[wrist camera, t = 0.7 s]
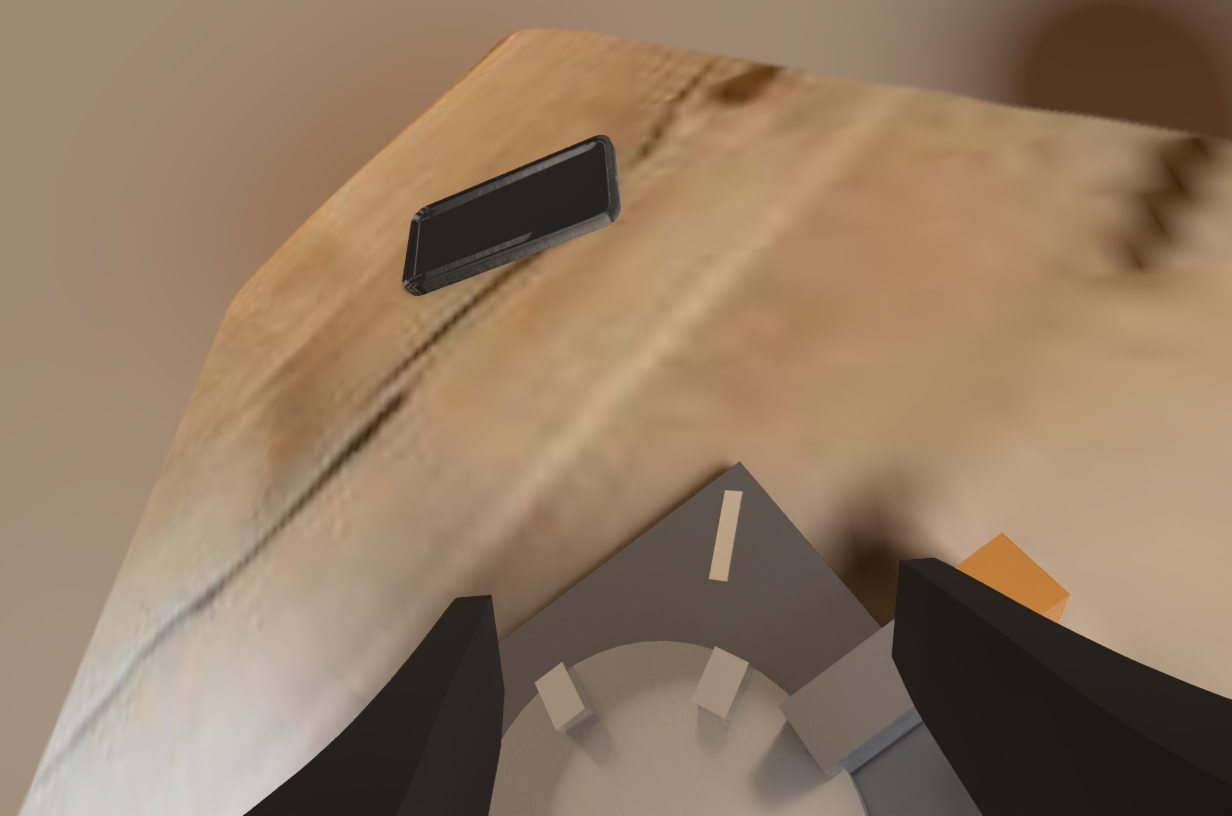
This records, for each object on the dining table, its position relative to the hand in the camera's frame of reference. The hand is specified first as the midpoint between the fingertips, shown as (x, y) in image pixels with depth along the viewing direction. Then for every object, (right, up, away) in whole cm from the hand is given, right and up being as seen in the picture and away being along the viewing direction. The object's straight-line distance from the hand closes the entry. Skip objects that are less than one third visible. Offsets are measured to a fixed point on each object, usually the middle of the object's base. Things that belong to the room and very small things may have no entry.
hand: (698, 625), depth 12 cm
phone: (-8, +16, +33) cm, 38 cm away
